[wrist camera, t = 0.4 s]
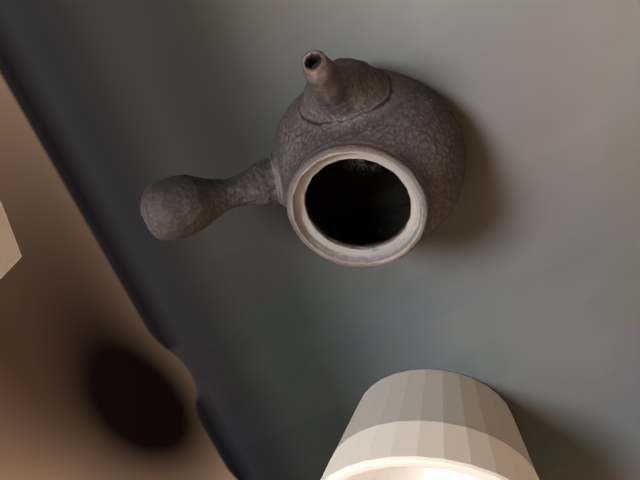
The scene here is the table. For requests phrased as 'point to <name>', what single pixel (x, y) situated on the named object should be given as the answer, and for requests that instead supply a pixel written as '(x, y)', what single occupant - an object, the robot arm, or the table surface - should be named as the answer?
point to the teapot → (338, 168)
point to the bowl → (431, 432)
